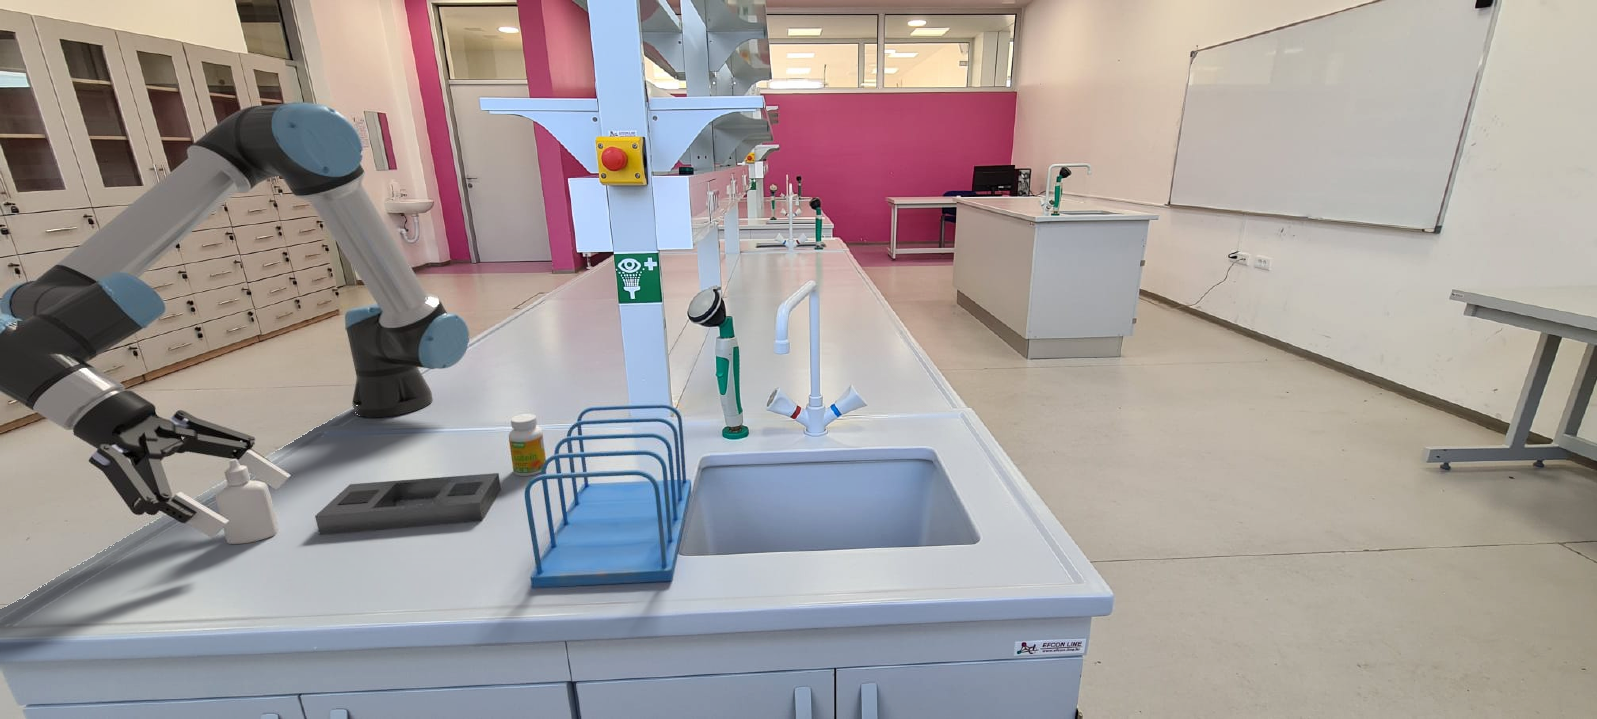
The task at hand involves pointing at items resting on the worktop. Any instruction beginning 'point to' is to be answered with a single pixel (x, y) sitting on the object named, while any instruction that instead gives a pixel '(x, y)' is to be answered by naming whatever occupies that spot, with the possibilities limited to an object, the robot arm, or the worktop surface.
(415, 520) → the grey compartment tray
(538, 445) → the supplement bottle
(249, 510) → the eye dropper bottle
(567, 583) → the file sorter
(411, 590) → the worktop surface
